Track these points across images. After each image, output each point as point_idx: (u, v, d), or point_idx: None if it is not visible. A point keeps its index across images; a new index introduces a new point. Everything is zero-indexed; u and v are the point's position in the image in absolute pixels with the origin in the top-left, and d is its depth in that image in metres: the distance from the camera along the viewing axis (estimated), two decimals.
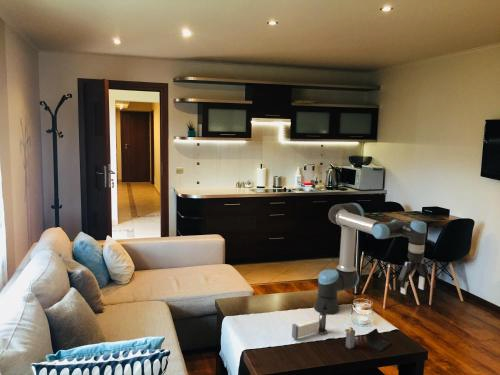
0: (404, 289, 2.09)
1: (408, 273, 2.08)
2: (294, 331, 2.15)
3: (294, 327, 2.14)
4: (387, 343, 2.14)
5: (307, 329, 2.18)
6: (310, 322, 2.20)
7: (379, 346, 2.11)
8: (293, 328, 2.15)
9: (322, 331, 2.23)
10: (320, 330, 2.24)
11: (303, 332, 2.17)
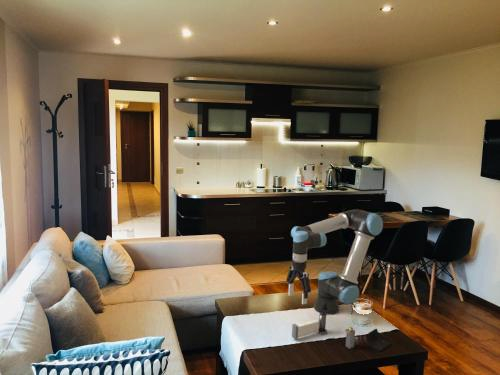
0: None
1: (291, 277, 2.25)
2: (294, 331, 2.15)
3: (294, 327, 2.14)
4: (387, 343, 2.14)
5: (307, 329, 2.18)
6: (310, 322, 2.20)
7: (379, 346, 2.11)
8: (293, 328, 2.15)
9: (322, 331, 2.23)
10: (320, 330, 2.24)
11: (303, 332, 2.17)
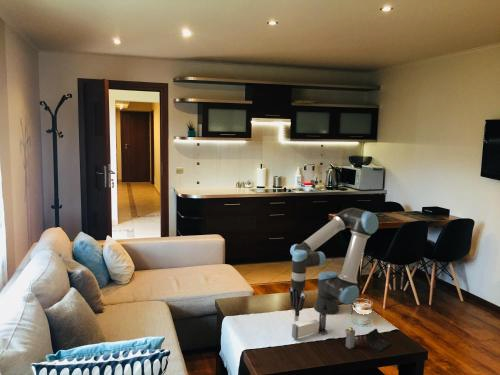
0: None
1: (293, 299, 2.24)
2: (294, 331, 2.15)
3: (294, 327, 2.14)
4: (387, 343, 2.14)
5: (307, 329, 2.18)
6: (310, 322, 2.20)
7: (379, 346, 2.11)
8: (293, 328, 2.15)
9: (322, 331, 2.23)
10: (320, 330, 2.24)
11: (303, 332, 2.17)
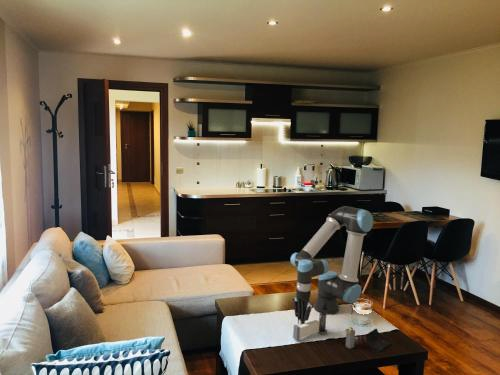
0: None
1: (298, 310, 2.20)
2: (296, 332, 2.14)
3: (296, 328, 2.13)
4: (387, 343, 2.14)
5: (308, 330, 2.17)
6: (311, 322, 2.19)
7: (379, 346, 2.11)
8: (294, 329, 2.14)
9: (322, 331, 2.23)
10: (320, 330, 2.24)
11: (304, 333, 2.16)
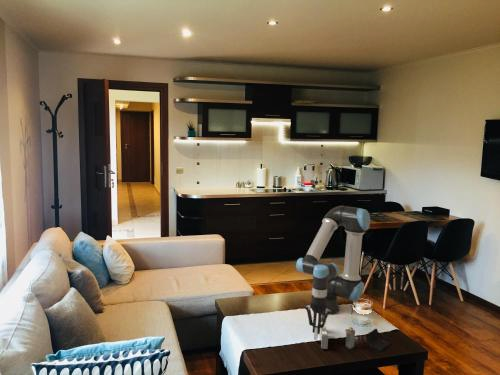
0: None
1: (313, 318, 2.12)
2: (325, 341, 2.06)
3: (325, 337, 2.05)
4: (387, 343, 2.14)
5: None
6: None
7: (379, 346, 2.11)
8: (324, 339, 2.06)
9: None
10: None
11: None
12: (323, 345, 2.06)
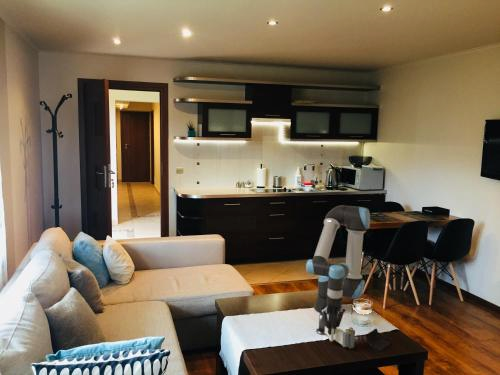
0: (331, 336, 2.12)
1: (330, 320, 2.10)
2: (347, 339, 2.09)
3: (347, 335, 2.08)
4: (387, 343, 2.14)
5: None
6: None
7: (379, 346, 2.11)
8: (346, 337, 2.08)
9: (322, 331, 2.23)
10: (320, 330, 2.24)
11: None
12: (346, 343, 2.08)
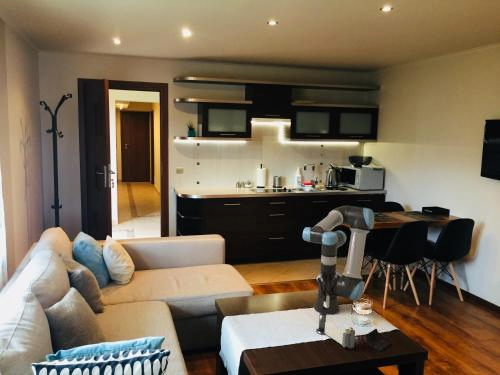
0: (326, 303, 2.11)
1: (325, 287, 2.09)
2: (347, 339, 2.09)
3: (347, 335, 2.08)
4: (387, 343, 2.14)
5: None
6: (333, 325, 2.17)
7: (379, 346, 2.11)
8: (346, 337, 2.08)
9: (322, 331, 2.23)
10: (320, 330, 2.24)
11: None
12: (346, 343, 2.08)
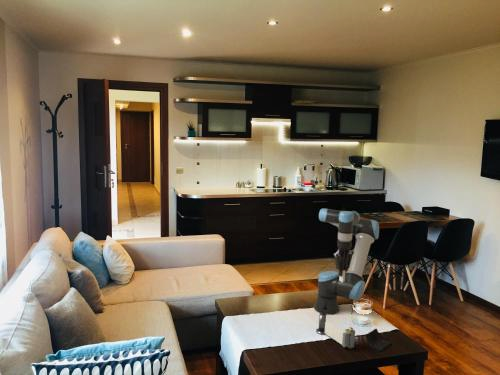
0: (342, 277, 2.27)
1: (341, 262, 2.25)
2: (347, 339, 2.09)
3: (347, 335, 2.08)
4: (387, 343, 2.14)
5: None
6: (333, 325, 2.17)
7: (379, 346, 2.11)
8: (346, 337, 2.08)
9: (322, 331, 2.23)
10: (320, 330, 2.24)
11: None
12: (346, 343, 2.08)
